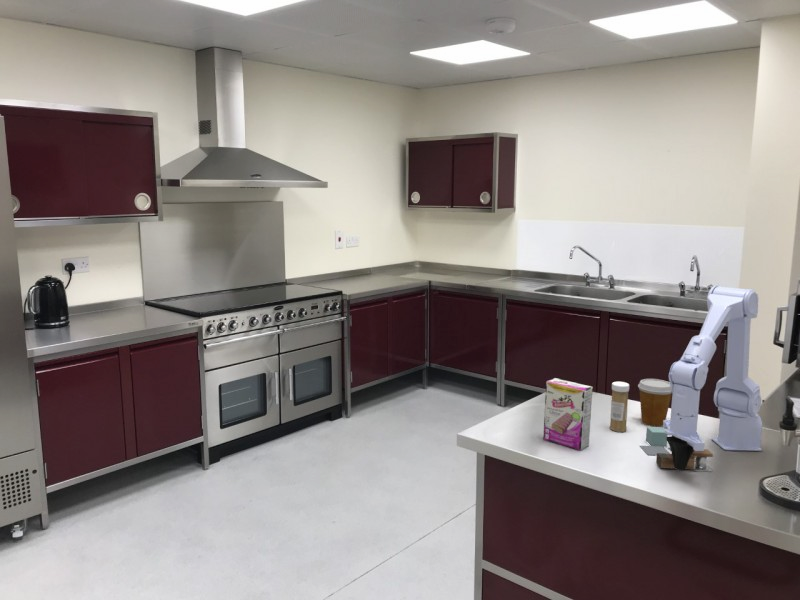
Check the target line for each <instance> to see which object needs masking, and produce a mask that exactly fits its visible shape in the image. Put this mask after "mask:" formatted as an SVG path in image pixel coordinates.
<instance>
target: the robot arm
mask: <svg viewBox="0 0 800 600" xmlns="http://www.w3.org/2000/svg"><path fill="white" fill-rule="evenodd" d="M706 306H707V314H706V317H705V320H704V321H703V322H704V323H702V326H701V328H700V332H699V334H698V335H694V336H692V337H691V339H690V341H689V343H687V344H688V345H687V346H686V349H685V350H684V352H683V354H682V356H681V357H680V359H679V360H678V361H675V362H673V363H672V364H671V366H670V369H669V373H668V382H670V390H671V391H672V394H671V406H670V408H671V409H670V419H666V420H663V426H662V428H663V429H665V433H666V434H667V435H668V437H667V438H666V440H667V445H668V446H669V448H670V449H671V450H670V449H669V450H670V453H671V454H672V457H673V463H674V467H675V468H674V469H676V470H687V469H686V466H687V464H688V461H689V459H690V457H691V455H692V453H693V452H694V450H695V451H704V449H705V444H706V443H705V442H704V441H703V440H702V438H701V437H700V434H699V433H698V431H697V430H698V420H699V419H698V418H699V410H700V409H699V407H700V399H701V398H700V397H701V396H700V395H701V390H702V389H703V387H704V386H705V384H706V380H707V377H708V373H709V367H708V366H709V364H710V362H711V361H712V358H713V356H714V354H715V352H716V351H717V345H716V343H715V341H716V339H717V338H718V337H719V335H720V334H721V332H722V331H723V329H724V327H725V326H726V325H728V326H727V349H726V350H727V352H726V354H727V355H726V374H725V375H726V376H724V377H721V378H720V379H719V380H718V381H717V382H716V386H715V390H714V394H713V402H714V404H715V407H716V408H717V411H718V412H720V413H719V414H720V415H719V422H718V423H719V424H718V436H715V437H714V436H712V437H710V439H711V440H712V441H713V442H714V443H716V444H717V445H718V446H719V447H720V448H722V449H723V450H725V451H747V452H748V451H751V452H752V451H755V452H756V451H757V452H762V450H763V449H762V447H761V442H762V433H763V422H762V419H761V417H760V415H759V412H760V410H761V409H760V408H761V405H762V396H761V389H760V385H759V384H758V383H757V382H755V381H754V380H752V379H751V377H749V366H750V365H749V363H750V361H749V360H750V344H751V343H750V341H751V323H752V322H751V321H752V319H756V318H757V317H758V313H759V294H758V293H757V292H756V290H754V289H752V288H751V289H750V288H749V289H747V288H739V287H738V288H737V287H730V286H729V287H728V286H720V285H714V286H712V287H711V288H710V289H709V290H708V293H707V297H706ZM727 323H728V324H727Z"/></svg>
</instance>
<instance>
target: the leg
mask: <svg viewBox="0 0 800 600" xmlns="http://www.w3.org/2000/svg"><path fill="white" fill-rule="evenodd" d="M713 455H714V453H713V452H711V451H710V450H709V449H705V448H704V451H695V450H694V452H693V453H692V455H691V457H690V459H689V461H688V464H687V466H686V469H685V470H687V469H688V470H690V469H691V470H694V463H695V460H696V458H695V457H707V458H713ZM655 460H656V461H655V463H656V464H657V466H658V467H659V468H660V469H676V468H675V467H674V463H673V457H672V453H670V454H665V453H657V456H656V457H655Z"/></svg>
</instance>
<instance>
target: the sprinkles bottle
mask: <svg viewBox="0 0 800 600" xmlns="http://www.w3.org/2000/svg"><path fill="white" fill-rule="evenodd" d="M629 391H630V384H629V383H627V382H625V381H614V382H612V383H611V392H612V393H611V403H610V417H609V418H610V421H609V422H610V423H609V424H610V425H609V429H610V430H611V431H613V432H617V433H623V432H626V431H627V419H628V400H629Z"/></svg>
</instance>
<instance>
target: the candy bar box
mask: <svg viewBox="0 0 800 600" xmlns="http://www.w3.org/2000/svg"><path fill="white" fill-rule="evenodd" d="M593 388H594V387H593V386H591V385H586V384H582V383H578V382H573V381H569V380H565V379H561V378H558V377H557V378H556V377H554V378H551V379H549V380H547V381H546V382H545V399H544V403H545V404H544V419H543V438H542V439H543V440H545V441H548V442H551V443H554V444H557V445H559V446H560V445H561V446H564V447H566V448H567V447H568V448H569V449H570V448H571V449H573V450H577V451H580V452H581V451H583V450H584V449H586V448H588V447H589V446H590V434H591V433H590V432H591V417H592V401H593Z"/></svg>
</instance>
